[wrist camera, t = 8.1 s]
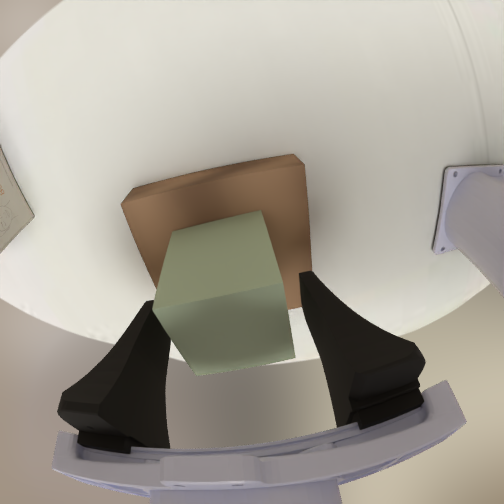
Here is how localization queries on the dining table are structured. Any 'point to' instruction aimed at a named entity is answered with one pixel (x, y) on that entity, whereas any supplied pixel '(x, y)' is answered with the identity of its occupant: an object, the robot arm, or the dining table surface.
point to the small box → (11, 206)
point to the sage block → (224, 296)
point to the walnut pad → (228, 211)
